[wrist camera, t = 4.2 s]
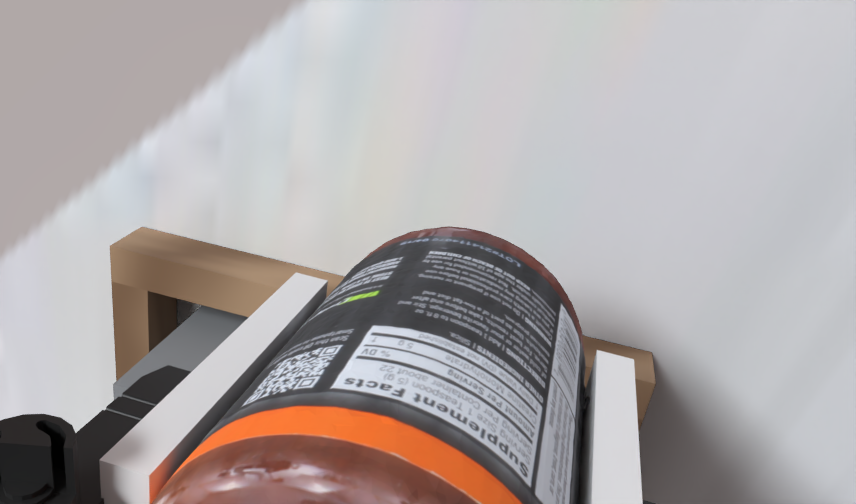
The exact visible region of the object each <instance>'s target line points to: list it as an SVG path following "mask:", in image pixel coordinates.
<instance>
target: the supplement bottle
mask: <svg viewBox="0 0 856 504" xmlns="http://www.w3.org/2000/svg"><path fill="white" fill-rule="evenodd" d="M585 370H586V361H585V356H584V344H583V336H582V330H581V327H580V324H579V320H578V318H577V315H576V313H575V310H574V308H573V305H572V303H571V301H570V300H569V298H568V296H567V294H566V293H565V291H564V289H563V288H562V286H561V285H560V283H559V282H558V281H557V279H556V278H555V277H554V276H553V274H551V273H550V272H549V271H548V270H547V269H546V268H545V267H544V265H543V264H541V263H540V262H538V261H537V260H536V259H535V258H534V257H532V256H531V255H529V254H528V253H527V252H525V251H524V250H523V249H521V248H519V247H517V246H515V245H514V244H512V243H510V242H508V241H506V240H504V239H501V238H499V237H496V236H493V235H491V234H488V233H485V232H481V231H477V230H472V229H467V228H458V227H440V228H434V229H424V230H420V231H414V232H410V233H407V234H405V235H402V236H399V237H397V238H394V239H392V240H390V241H388V242H386V243H384V244H383V245H382V246H380V247H379V248H377V249H376V250H374V251H373V252H371V253H370V254H369V255H368V256H367V257H366V258H365V259H363V260H362V261H361V262H360V263H359V264H357V265H356V266H355V267H354V268H352V270H351V271H350V272H349V273H348V274H347V275H346V276H345V277H344V279H343V280H342V281H341V282H340V283H339V285H338V286H337V287H336V288H335V289H334V290H333V291H332V292H331V293H330V295H329V296H328V297H327V298H326V299H325V301H324V302H323V303H322V304H321V305H320V306H319V307H318V308H317V310H316V311H315V312H314V313H313V314H312V315H311V316H310V317H309V318H308V319H307V320H306V321H305V323H304V324H303V325H302V326H301V327H300V329H299V330H298V331H297V332H296V333H295V334H294V336H293V337H292V338H291V339H290V340H289V341H288V343H287V344H285V345H284V347H283V348H282V349H281V350H280V352H279V353H278V354H277V355H276V356H275V357H274V358H273V359H272V360H271V362H270V363H269V364H268V365H267V366H266V367H265V368H264V369H263V371H262V372H261V373H260V375H259V376H257V378H256V379H255V380H254V381H253V382H252V384H251V385H250V386H249V387H248V389H247V390H246V391H245V392H244V393H243V394H242V396H241V397H240V398H239V399H238V400H237V401H236V402H235V403H234V404H233V405H232V406H231V407H230V409H229V410H228V411H227V412H226V414H225V415H224V416H223V417H222V418H221V419H220V421H219V422H218V423H217V424H216V425H215V426H214V427H213V428H212V429H211V430H210V432H209V433H208V434H207V435H206V436H205V438H204V439H203V440H202V441H201V443H200V444H199V445H198V446H197V448H196V449H195V450H194V451H193V452H192V453H191V454H190V456H189V457H188V458H187V459H186V460H185V461H184V462H183V463H182V465H181V466H180V467H179V468H178V469H177V470H176V472H175V473H174V474H173V475H172V477H171V478H170V479H169V480H168V481H167V483H166V484H165V485H164V486H163V487H162V489H161V490H160V492H159V493H158V495H157V496H156V498H155V499H154V501H153V502H152V504H578V500H579V483H580V474H579V467H580V453H581V448H582V445H581V437H582V417H583V414H584V410H585V407H586V405H587V403H588V401H589V397H588V395H587V397H586V399H585V401H584V392H585V386H584V385H585Z"/></svg>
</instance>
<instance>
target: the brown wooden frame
mask: <svg viewBox="0 0 856 504" xmlns="http://www.w3.org/2000/svg"><path fill="white" fill-rule="evenodd" d="M110 259H111V279H112V299H113V319H114V340H115V360H116V380H117V381H118V380H119V379H120V378H121V377H122V376H123V375H124V374H125V373H127V372H128V371H129V370H130V369H131V368H132V367H133V366H134V365H136V364H137V363H138V362H139V361H140V360H141V359H142V358H144V357H145V356H146V355H147V354H148V353H149V352H150V351H151V350H153V349H154V348H155V347H156V346H157V345H158V344H159V343H160V342H162V341H163V340H164V339H165V338H166V337H167V336H168V335H170V334H171V333H172V332H173V331H174V330H175V329H176V328H177V299H181V300H185V301H188V302H192V303H196V304H200V305H204V306H208V307H211V308H215V309H219V310H223V311H227V312H231V313H234V314H238V315H242V316H246V317H250V316H251V315H252V314H253V313H254V312H255V311H256V310H257V309H258V308H259V307H260V306H261V305H262V304H263V303H264V302H265V301H266V300H267V299H269V298H270V297H271V296H272V295H273V294H274V293H275V292H276V291H277V290H278V289H279V288H280V287H281V286H282V285H283V284H284V283H285V282H286V281H287V280H288V279H289V278H291V277H292V276H293V275H294V274H295V273H300V274H304V275H308V276H312V277H316V278H320V279H324V280H327V281H328V285H327V294H326V298H327V297H328V296H329V295H330V293H331V292H332V291H333V290H334V289H335V288H336V287H337V286H338V285H339V283H340V282H341V281H342V280H343V279H344V277H343V276H339V275H335V274H331V273H327V272H323V271H319V270H315V269H311V268H307V267H303V266H299V265H295V264H291V263H286V262H282V261H278V260H274V259H270V258H266V257H262V256H258V255H254V254H250V253H246V252H242V251H238V250H234V249H230V248H226V247H222V246H218V245H213V244H209V243H205V242H201V241H197V240H193V239H189V238H185V237H181V236H177V235H173V234H169V233H165V232H161V231H157V230H153V229H149V228H144V227H141V228H139V229H137V230H136V231H134V232H132V233H131V234H129V235H127V236H126V237H124V238H122V239H121V240H119V241H117V242H116V243H114V244H112V245H111V246H110ZM582 336H583V335H582ZM583 344H584V356H585V361H586V370H585V385H584V386H585V389H586V385H587V382H588V379H589V375H590V372H591V369H592V365H593V362H594V359H595V355H596V352H597V350H599V351H603V352H607V353H611V354H615V355H619V356H623V357H627V358H630V359H634V367H635V384H636V400H637V417H638V433H639V430H640V427H641V424H642V421H643V419H644V416H645V413H646V410H647V407H648V405H649V402H650V399H651V396H652V393H653V390H654V388H655V385H656V381H655V374H654V366H653V358H652V352H648V351H644V350H640V349H635V348H631V347H627V346H623V345H619V344H615V343H611V342H607V341H603V340H599V339H595V338H591V337H587V336H583Z"/></svg>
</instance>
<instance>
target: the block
mask: <svg viewBox="0 0 856 504" xmlns="http://www.w3.org/2000/svg"><path fill="white" fill-rule="evenodd" d="M248 318H249V317H246V316H242V315H238V314H234V313H231V312H227V311H223V310H219V309H215V308H211V307H208V306H204V305H202V306H201V307H200V308H199V309H198V310H197V311H196V312H194V313H193V314H192V315H191V316H190V317H189V318H188V319H186V320H185V321H184V322H183V323H182V324H181V325H180V326H179V327H177V328H176V329H175V330H174V331H173V332H172V333H171V334H170V335H168V336H167V337H166V338H165V339H164V340H163V341H162V342H160V343H159V344H158V345H157V346H156V347H155V348H154V349H153V350H151V351H150V352H149V353H148V354H147V355H146V356H145V357H144V358H142V359H141V360H140V361H139V362H138V363H137V364H136V365H134V366H133V367H132V368H131V369H130V370H129V371H128V372H127V373H125V374H124V375H123V376H122V377H121V378H120V379H119V380H118V381H116V382H115V383H114V384H113V390H114V400H115V399H116V398H117V397H121V396H122V393H123V392H124V391H125V390H127V389H128V388H129V387H130V386H131V385H132V384H134V383H135V382H136V381H137V380H138V379H139V378H141V377H142V376H144V375H146V374H149V373H151V372H153V371H156V370H158V369H160V368H162V367H165V366H167V365H170V366H174V367H177V368H181V369H184V370H187V371H191V372H192V371H193V370H194V369H195V368H196V367H197V366H198V365H199V364H200V363H201V362H203V361H204V360H205V359H206V358H207V357H208V356H209V355H210V354H211V353H212V352H213V351H214V350H215V349H216V348H217V347H218V346H219V345H220V344H221V343H222V342H223V341H225V340H226V339H227V338H228V337H229V336H230V335H231V334H232V333H233V332H234V331H235V330H236V329H237V328H238V327H239V326H240V325H241V324H242V323H243V322H244V321H245V320H247V319H248Z"/></svg>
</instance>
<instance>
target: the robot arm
mask: <svg viewBox="0 0 856 504" xmlns="http://www.w3.org/2000/svg"><path fill="white" fill-rule="evenodd" d="M327 285H328V281H327V280H324V279H320V278H316V277H312V276H308V275H304V274H300V273H295V274H294V275H293V276H292V277H291V278H289V279H288V280H287V281H286V282H285V283H284V284H283V285H282V286H281V287H280V288H279V289H278V290H277V291H276V292H275V293H274V294H273V295H272V296H271V297H270V298H269V299H267V300H266V301H265V302H264V303H263V304H262V305H261V306H260V307H259V308H258V309H257V310H256V311H255V312H254V313H253V314H252V315H251V316H250V317H249V318H248V319H247V320H245V321H244V322H243V323H242V324H241V325H240V326H239V327H238V328H237V329H236V330H235V331H234V332H233V333H232V334H231V335H230V336H229V337H228V338H227V339H226V340H225V341H223V342H222V343H221V344H220V345H219V346H218V347H217V348H216V349H215V350H214V351H213V352H212V353H211V354H210V355H209V356H208V357H207V358H206V359H205V360H204V361H203V362H201V363H200V364H199V365H198V366H197V367H196V368H195V369H194V370H193V371H192V372H191V371H187V370H184V369H181V368H177V367H174V366H170V365H167V366H165V367H162V368H160V369H158V370H156V371H153V372H151V373H149V374H146V375H144V376H142V377H141V378H139V379H138V380H137V381H136V382H135V383H134V384H132V385H131V386H130V387H129V388H128V389H127V390H125V391H124V392H123V393H122V396H121V397H117V398H116V399H115V400H114V401H113V402H112V403H110V404H109V405H108V406H107V408H106V410H105V411H104V410H102V411H101V412H100V413H99V414H98V415H96V416H95V417H94V418H93V419H92V420H91V421H90V422H88V423H87V424H86V425H85V426H84V427H83V428H81V429H80V430H79V431H78V432H77V433H76V434H75V431H74V429H73V427H72V425H71V424H69V423H68V422H66V421H65V420H63V419H62V418H59V417H55V416H51V415H46V414H27V415H20V416H16V417H12V418H8V419H4V420H1V421H0V504H152V502H153V501H154V499H155V498H156V496H157V495H158V493H159V492H160V490H161V489H162V487H163V486H164V485H165V484H166V483H167V481H168V480H169V479H170V478H171V477H172V475H173V474H174V473H175V472H176V470H177V469H178V468H179V467H180V466H181V465H182V463H183V462H184V461H185V460H186V459H187V458H188V457H189V456H190V454H191V453H192V452H193V451H194V450H195V449H196V448H197V446H198V445H199V444H200V443H201V441H202V440H203V439H204V438H205V436H206V435H207V434H208V433H209V432H210V430H211V429H212V428H213V427H214V426H215V425H216V424H217V423H218V422H219V421H220V419H221V418H222V417H223V416H224V415H225V414H226V412H227V411H228V410H229V409H230V407H231V406H232V405H233V404H234V403H235V402H236V401H237V400H238V399H239V398H240V397H241V396H242V394H243V393H244V392H245V391H246V390H247V389H248V387H249V386H250V385H251V384H252V382H253V381H254V380H255V379H256V378H257V376H259V375H260V373H261V372H262V371H263V369H264V368H265V367H266V366H267V365H268V364H269V363H270V362H271V360H272V359H273V358H274V357H275V356H276V355H277V354H278V353H279V352H280V350H281V349H282V348H283V347H284V345H285V344H287V343H288V341H289V340H290V339H291V338H292V337H293V336H294V334H295V333H296V332H297V331H298V330H299V329H300V327H301V326H302V325H303V324H304V323H305V321H306V320H307V319H308V318H309V317H310V316H311V315H312V314H313V313H314V312H315V311H316V310H317V308H318V307H319V306H320V305H321V304H322V303H323V302H324V301H325V299H326V294H327ZM587 395H588V397H589V401H588V403H587V405H586V407H585V410H584V414H583V417H582V437H581V445H582V448H581V453H580V467H579V474H580V483H579V500H578V504H655V503H651V502H648V501H644V500H642V484H641V467H640V450H639V434H638V417H637V400H636V384H635V367H634V359H630V358H627V357H623V356H619V355H615V354H611V353H607V352H603V351H599V350H597V352H596V355H595V359H594V362H593V365H592V369H591V372H590V375H589V379H588V382H587V385H586V389H585V392H584V401H585V399H586V397H587Z"/></svg>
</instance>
